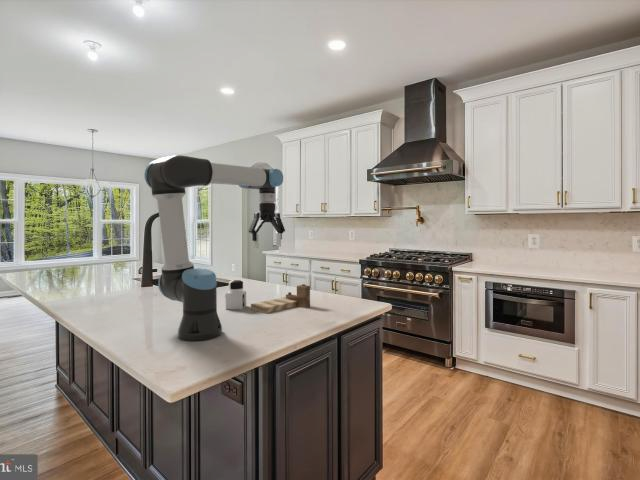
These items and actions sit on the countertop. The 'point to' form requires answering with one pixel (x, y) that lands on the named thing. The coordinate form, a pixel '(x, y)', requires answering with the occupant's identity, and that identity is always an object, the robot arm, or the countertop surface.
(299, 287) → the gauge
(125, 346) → the countertop surface
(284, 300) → the board
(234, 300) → the container
